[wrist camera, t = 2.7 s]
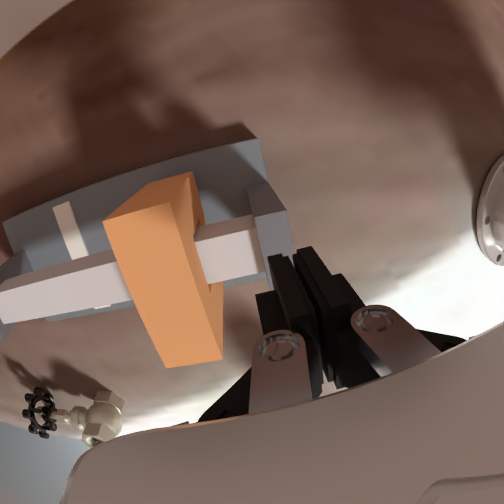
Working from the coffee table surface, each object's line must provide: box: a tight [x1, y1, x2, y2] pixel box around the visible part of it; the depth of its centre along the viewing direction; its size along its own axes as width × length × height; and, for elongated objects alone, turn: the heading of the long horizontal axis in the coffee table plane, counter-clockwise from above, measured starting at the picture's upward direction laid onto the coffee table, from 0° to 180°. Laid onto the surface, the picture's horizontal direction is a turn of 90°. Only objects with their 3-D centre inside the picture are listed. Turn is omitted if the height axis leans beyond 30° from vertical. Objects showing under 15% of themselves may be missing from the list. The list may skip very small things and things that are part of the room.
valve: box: [22, 387, 124, 448], centre depth 27 cm, size 7×7×12 cm
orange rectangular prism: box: [102, 171, 223, 368], centre depth 17 cm, size 3×8×8 cm, turn 12°
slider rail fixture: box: [0, 138, 294, 340], centre depth 19 cm, size 22×10×8 cm, turn 102°
